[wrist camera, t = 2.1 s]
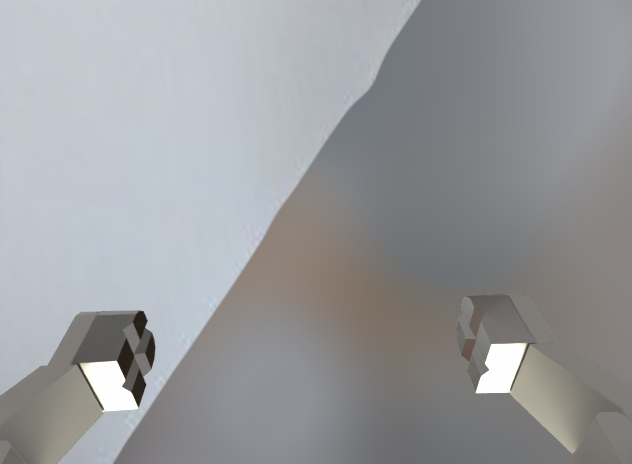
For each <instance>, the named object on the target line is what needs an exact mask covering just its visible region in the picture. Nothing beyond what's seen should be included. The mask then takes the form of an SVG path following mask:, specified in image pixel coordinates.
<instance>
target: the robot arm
mask: <svg viewBox="0 0 632 464" xmlns="http://www.w3.org/2000/svg"><path fill="white" fill-rule="evenodd" d="M461 308H462V310H463V313H464V315H462V316H461V317H460V318H459V319H458V322H457V327H456V336H457V343H458V347H459V350H460V353H461V355H462V356H463V357H464V358H466V359H467V360H468V361H469V365H468V369H467V371H468V374H469V376H470V379H471V381H472V384H473V387H474V389H475V392H476V393H496V392H511V393H510V394H511V395H512V396H513V397H514V398H515V399H516V400H517V401H518V402H519V403H520V404H521V405H522V406H523V407H524V408H525V409H526V410H527V411H528V412H529V413H531V415H533V416H534V417H535V418H536V419H537V420H538V421H539V422H540V423H541V424H542V425H543V426H544V427H545V428H546V429H547V430H548V431H549V432H550V433H551V434H553V436H554V437H556V438H557V439H558V440H559V441H560V442H561V443H562V444H563V445H564V446H565V447H566V448H567V449H568V450H569V451H570V452H571V453H572V456H571V457H570V459H569V461H568V462H567V464H632V385H630V384H629V383H627V382H625V381H624V380H622V379H621V378H619V377H617V376H616V375H615V374H613V373H611V372H610V371H608V370H607V369H605V368H604V367H602V366H601V365H599V364H597V363H596V362H594V361H593V360H591V359H590V358H588V357H587V356H585V355H583V354H582V353H580V352H579V351H577V350H576V349H574V348H572V347H571V346H569V345H568V344H566V343H565V342H562V343H559V342H558V341H557V339H556V338H555V336H554V335H553V333H552V331H551V330H550V328H549V327H548V325H547V323H546V322H545V320H544V319H543V317H542V316H541V314H540V312H539V311H538V309H537V308H536V307H535V305H534V303H533V301H532V300H531V298H530V297H529V295H527V294H526V293H516V294H515V293H514V294H496V295H477V296H466V297H465V298H464V299H463V301H462V305H461ZM147 321H148V320H147V318H146V316H145V313H144V311H140V310H138V311H101V312H80V313H79V314H78V315H76V316H75V318H74V320H73V321H72V323H71V325H70V327H69V328H68V330H67V332H66V334H65V335H64V337H63V339H62V341H61V342H60V344H59V346H58V348H57V350H56V351H55V353H54V355H53V357H52V358H51V360H50V362H49V364H48V365H47V366H40V367H39V368H38V369H36V370H35V371H34V372H32V373H31V374H30V375H28V376H27V377H25V378H24V379H23V380H21V381H20V382H19V383H17V384H16V385H15V386H13V387H12V388H10V389H9V390H8V391H6V392H5V393H4V394H2V395H1V396H0V464H57V463H58V462H59V461H60V460H61V459H62V458H63V457H64V456H65V455H66V453H67V452H68V451H69V450H70V449H71V448H72V447H73V446H74V445H75V444H76V443H77V441H78V440H79V439H80V438H81V437H82V436H83V435H84V434H85V433H86V432H87V431H88V430H89V428H90V427H91V426H92V425H93V424H94V423H95V422H96V421H97V420H98V419H99V418H100V417H101V415H102V414H103V411H113V410H127V409H138V408H139V405H140V402H141V399H142V396H143V393H144V390H145V387H146V383H145V380H144V378H143V376H145V375H146V374H147V373H148V372H149V371H150V370H151V369H152V365H153V362H154V358H155V341H154V337H153V334H152V332H150V331H149V330H147V329H146V328H145V326H146V324H147Z"/></svg>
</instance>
